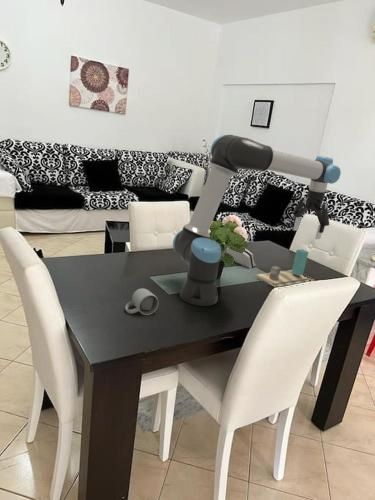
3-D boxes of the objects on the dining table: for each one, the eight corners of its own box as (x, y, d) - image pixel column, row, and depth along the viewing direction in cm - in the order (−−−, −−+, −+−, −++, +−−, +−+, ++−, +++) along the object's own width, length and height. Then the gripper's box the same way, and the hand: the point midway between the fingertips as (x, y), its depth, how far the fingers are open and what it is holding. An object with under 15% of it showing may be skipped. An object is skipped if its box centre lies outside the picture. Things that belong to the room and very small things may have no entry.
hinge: (256, 267, 200) (255, 250, 195) (250, 271, 198) (249, 254, 192) (231, 256, 211) (230, 240, 206) (226, 260, 209) (224, 244, 203)
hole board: (274, 289, 175) (277, 274, 173) (253, 277, 186) (256, 263, 184) (315, 282, 191) (318, 268, 188) (293, 271, 201) (296, 258, 199)
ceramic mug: (148, 303, 145) (150, 284, 142) (157, 313, 138) (160, 294, 136) (121, 307, 139) (122, 288, 137) (130, 318, 133) (131, 298, 130)
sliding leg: (296, 277, 190) (303, 252, 186) (290, 273, 193) (296, 249, 189) (302, 276, 192) (308, 252, 188) (296, 273, 195) (302, 249, 191)
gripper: (344, 197, 171) (332, 242, 178) (301, 185, 191) (292, 226, 197) (334, 196, 167) (322, 243, 174) (291, 184, 187) (281, 227, 193)
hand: (306, 234), depth 186 cm, fingers open, 13 cm apart
